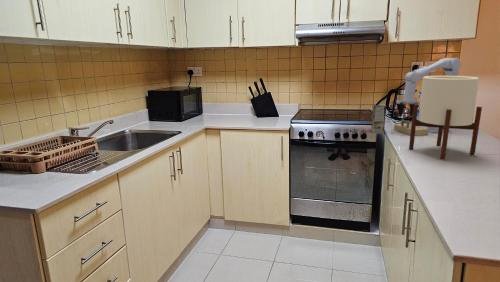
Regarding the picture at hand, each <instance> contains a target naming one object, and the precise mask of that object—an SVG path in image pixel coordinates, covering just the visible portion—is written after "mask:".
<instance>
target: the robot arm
mask: <svg viewBox="0 0 500 282" xmlns="http://www.w3.org/2000/svg"><path fill="white" fill-rule="evenodd" d="M461 67H462V62H461V60H460V58H458V57H444V58H441V59H440V58H439V60H437V61H436V62H434V63H432V64H430V65H428V66H426V65H424V66H423V65H421V66H420V67H419V68H417V69H414V70H413V71H412V72H411V71H409V72H407V73H406V75H405V76H404V83H405V85H404V86H405V87H404V92H403V98H402V99H396V103H395V104H396V108H397V112H398V116H399V117H403V113H404V110H405V107H406V104H407V105H409V116H410V117H412V115H413V106H414V104H418V108H420V100H415V94H416V89H417V84H418V82H419V81H420V80H421V79H423V77H425V76H430V73H431V72H433V71H436V70H438V69H440V68H441V70H443V72H445V74H446V76H459V73H460V69H461ZM426 129H428V133H429V132H430V133H438V129H439V127H426ZM442 133H444V130H443V132H442Z"/></svg>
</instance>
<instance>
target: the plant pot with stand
mask: <svg viewBox="0 0 500 282" xmlns="http://www.w3.org/2000/svg"><path fill="white" fill-rule="evenodd" d="M479 81H480V78H479V77H477V76H467V75H458V76H447V75H427V76H425V77H423V78H422V81H421V90H420V91H421V93H420V100H419V101H420V103H419V104H414V106H413V115H412V116H411V117H412V118H411V124H412V125H411V134H410V135H409V144H408V149H409V150H410V151H413V150H414V146H415V145H414V144H415V137H416V136H415V129H416V126H419V127H423V128H427V127H439V129H438V132H437V137H436V138H437V139H436V146H437V147H441V149H440V158H439V160H441V159H445V160H446V155H447V147H448V146H447V145H448V140H449V131H450V129H453V130H454V129H457V130H469V131H470V130H471V131H472V136H471V143H470V149H469V155H470V154H471V155H470V156H472V155H474V154H475V155H476V148H477V142H478V135H479V129H480V122H481V117H482V110H483V106H476V101H477V96H478V90H479V88H478V87H479ZM418 105H419V107H418ZM475 108H476V111H475ZM418 109H419V111H418ZM474 114H475V116H474ZM473 121H474V122H473ZM443 130H444V132H443ZM475 155H474V156H475Z"/></svg>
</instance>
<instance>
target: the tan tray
mask: <svg viewBox="0 0 500 282" xmlns="http://www.w3.org/2000/svg"><path fill="white" fill-rule="evenodd" d="M393 125H394V124H393ZM393 130H394V131H395V132H396V131H397V132H399V133H403V134H404V135H408V136H410V134H411V130H408V129H405V128H402V127H399V126H396V125H394V127H393ZM428 135H429V131H428V130H424V131H415V137H422V136H423V137H424V136H428Z"/></svg>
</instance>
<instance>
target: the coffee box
mask: <svg viewBox="0 0 500 282" xmlns="http://www.w3.org/2000/svg"><path fill="white" fill-rule="evenodd" d="M386 115H387V106H386V105H384V104H374V105H372V117H371V119H372V120H371V132H372V134H380V135H381V134H385V126H386V125H385V124H386Z"/></svg>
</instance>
